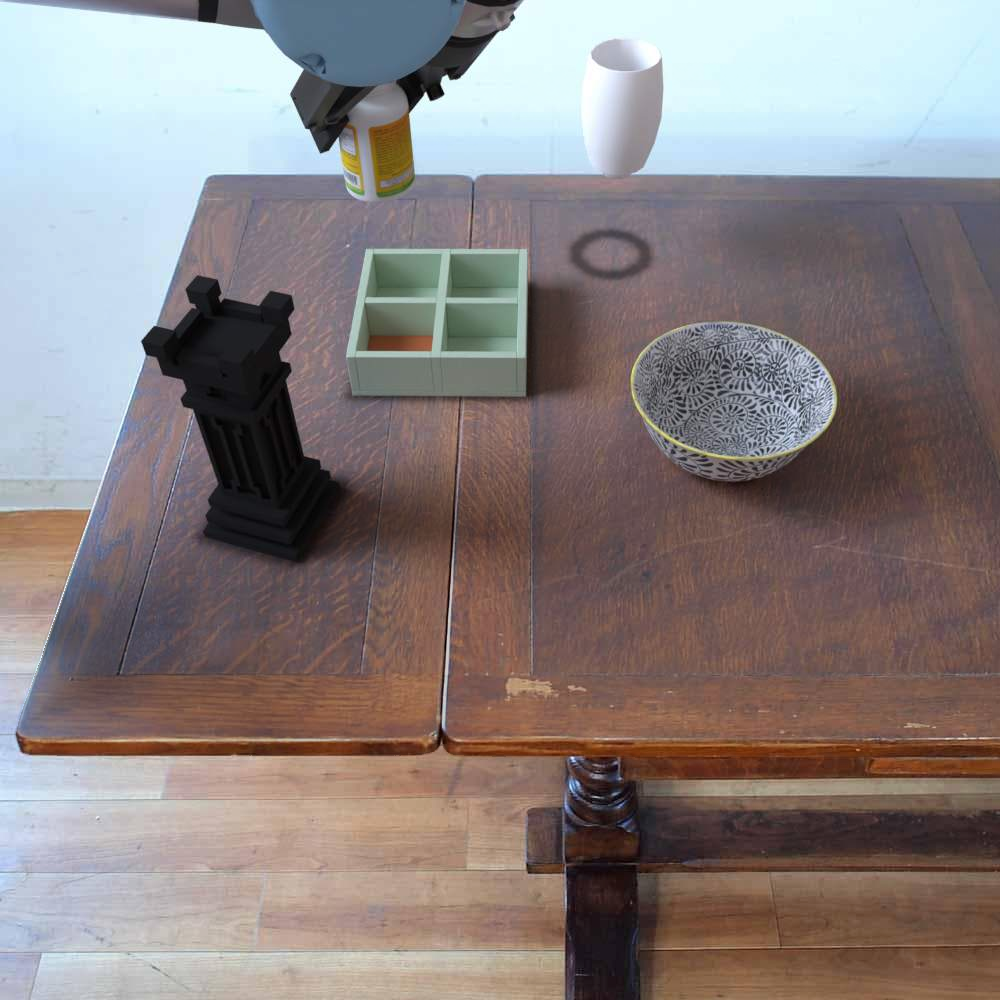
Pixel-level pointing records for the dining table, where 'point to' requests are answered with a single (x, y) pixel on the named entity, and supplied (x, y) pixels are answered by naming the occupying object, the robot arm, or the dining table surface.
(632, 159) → the cup
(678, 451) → the bowl
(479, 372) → the grid
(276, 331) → the chess piece
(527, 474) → the dining table surface
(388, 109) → the supplement bottle
